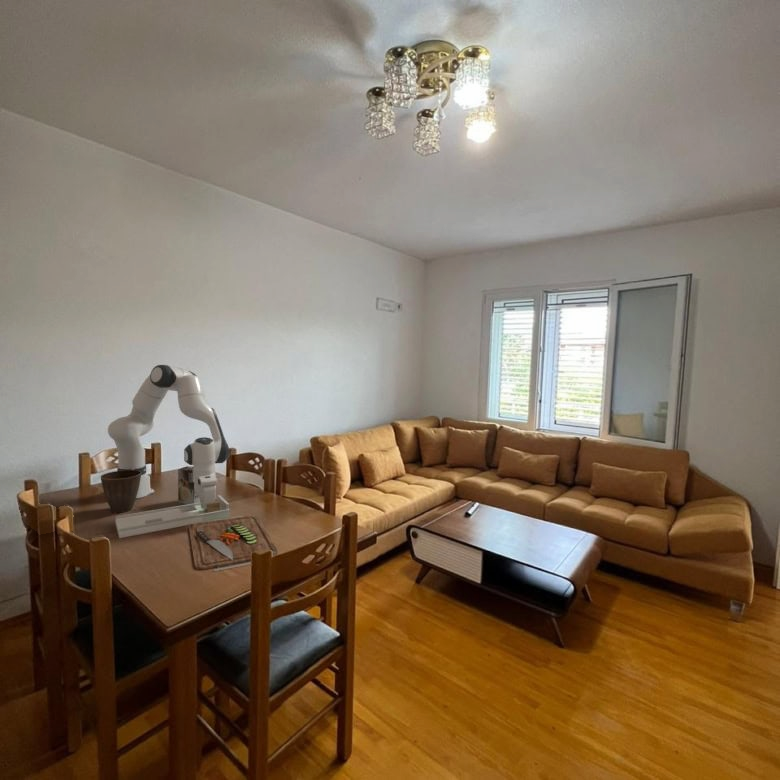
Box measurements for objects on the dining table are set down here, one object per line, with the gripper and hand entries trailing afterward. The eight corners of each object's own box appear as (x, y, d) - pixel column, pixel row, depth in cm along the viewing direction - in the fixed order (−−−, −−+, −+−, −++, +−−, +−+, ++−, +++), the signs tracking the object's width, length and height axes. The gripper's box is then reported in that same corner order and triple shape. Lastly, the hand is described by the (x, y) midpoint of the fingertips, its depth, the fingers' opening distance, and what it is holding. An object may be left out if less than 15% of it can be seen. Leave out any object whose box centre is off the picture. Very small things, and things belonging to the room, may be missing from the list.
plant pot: (102, 519, 172) (102, 481, 171) (99, 508, 184) (98, 472, 183) (144, 511, 182) (144, 475, 181) (138, 502, 193) (138, 468, 192)
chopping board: (281, 560, 144) (281, 551, 144) (196, 576, 131) (196, 567, 131) (255, 516, 183) (255, 509, 183) (188, 525, 170) (188, 518, 170)
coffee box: (203, 500, 198) (203, 467, 197) (194, 505, 192) (194, 470, 191) (186, 498, 200) (187, 465, 199) (177, 503, 194) (177, 469, 193)
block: (204, 509, 180) (204, 500, 180) (216, 507, 183) (216, 498, 183) (207, 513, 176) (207, 504, 176) (219, 511, 179) (219, 502, 179)
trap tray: (115, 524, 168) (115, 510, 167) (219, 506, 192) (219, 494, 192) (119, 538, 155) (119, 523, 155) (229, 516, 180) (229, 504, 179)
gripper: (190, 471, 183) (190, 502, 184) (202, 483, 167) (201, 517, 168) (205, 470, 187) (205, 500, 188) (218, 481, 171) (218, 514, 171)
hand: (203, 508), depth 178 cm, fingers closed, pressing on block
